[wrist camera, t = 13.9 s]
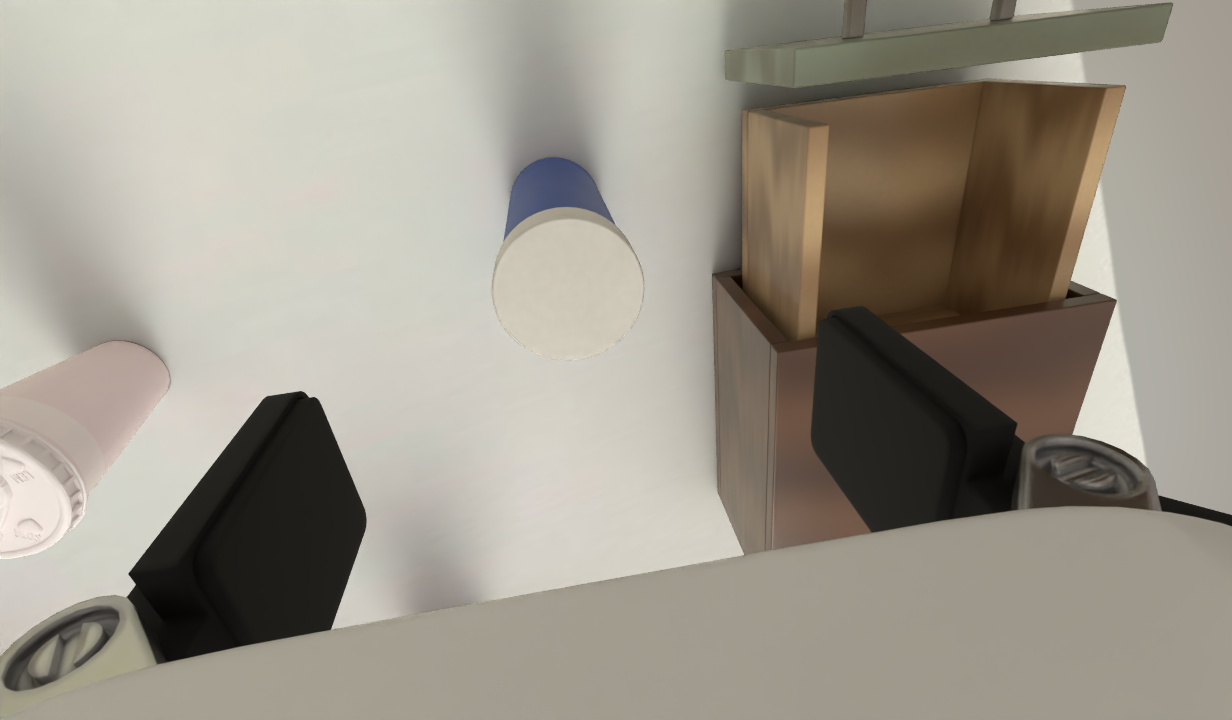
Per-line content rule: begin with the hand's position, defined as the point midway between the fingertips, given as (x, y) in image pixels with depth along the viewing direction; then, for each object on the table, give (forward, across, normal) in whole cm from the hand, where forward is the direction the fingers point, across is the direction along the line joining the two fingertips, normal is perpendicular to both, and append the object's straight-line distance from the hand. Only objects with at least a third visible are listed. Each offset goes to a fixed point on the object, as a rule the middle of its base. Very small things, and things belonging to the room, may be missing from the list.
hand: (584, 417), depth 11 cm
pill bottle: (+20, 0, +1) cm, 20 cm away
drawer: (+19, -15, 0) cm, 24 cm away
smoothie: (+20, +23, +6) cm, 31 cm away
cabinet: (+20, -15, +13) cm, 28 cm away
